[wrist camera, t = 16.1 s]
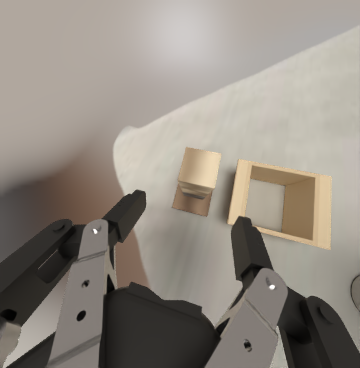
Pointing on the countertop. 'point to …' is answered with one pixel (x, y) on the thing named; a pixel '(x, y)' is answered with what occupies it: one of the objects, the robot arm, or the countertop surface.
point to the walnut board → (191, 203)
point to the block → (198, 172)
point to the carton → (289, 201)
